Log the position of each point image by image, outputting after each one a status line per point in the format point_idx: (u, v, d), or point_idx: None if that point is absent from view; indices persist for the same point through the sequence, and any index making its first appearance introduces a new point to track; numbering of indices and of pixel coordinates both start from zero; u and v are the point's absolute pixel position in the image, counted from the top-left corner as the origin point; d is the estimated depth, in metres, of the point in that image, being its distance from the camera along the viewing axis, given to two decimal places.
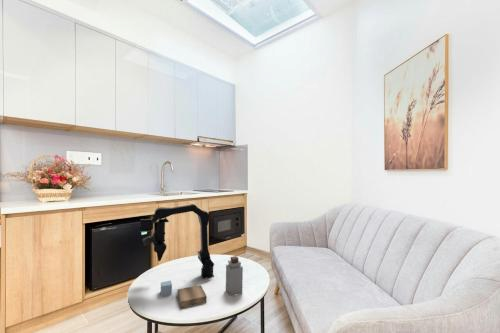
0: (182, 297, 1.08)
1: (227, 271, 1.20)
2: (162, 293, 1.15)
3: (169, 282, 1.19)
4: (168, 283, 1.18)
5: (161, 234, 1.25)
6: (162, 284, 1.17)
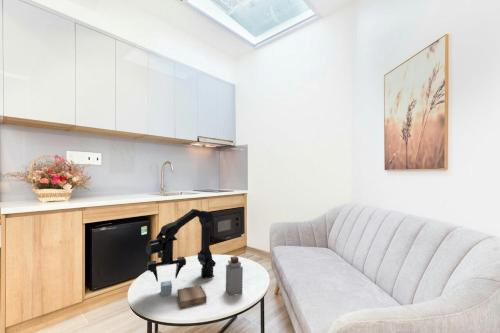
0: (182, 297, 1.08)
1: (227, 271, 1.20)
2: (162, 293, 1.15)
3: (169, 282, 1.19)
4: (168, 283, 1.18)
5: (162, 254, 1.17)
6: (162, 284, 1.17)
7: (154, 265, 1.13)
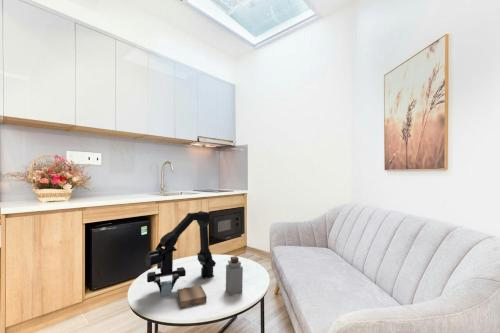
0: (182, 297, 1.08)
1: (227, 271, 1.20)
2: (162, 293, 1.15)
3: (169, 282, 1.19)
4: (168, 283, 1.18)
5: (161, 265, 1.16)
6: (162, 284, 1.17)
7: (154, 276, 1.13)
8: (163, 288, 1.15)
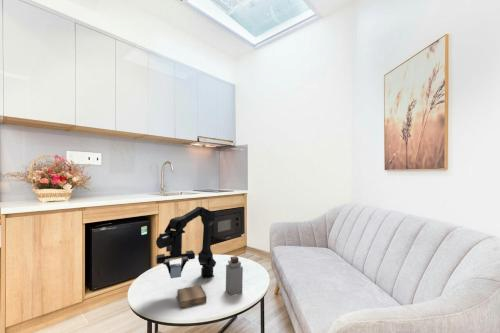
0: (182, 297, 1.08)
1: (227, 271, 1.20)
2: (171, 275, 1.13)
3: (178, 265, 1.18)
4: (178, 266, 1.16)
5: (170, 247, 1.15)
6: (171, 266, 1.15)
7: (163, 258, 1.12)
8: (172, 270, 1.14)
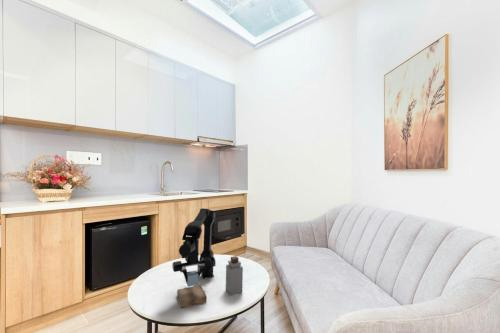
0: (182, 297, 1.08)
1: (227, 271, 1.20)
2: (188, 283, 1.10)
3: (195, 272, 1.14)
4: (194, 273, 1.13)
5: None
6: (188, 274, 1.12)
7: (180, 266, 1.08)
8: (189, 278, 1.10)
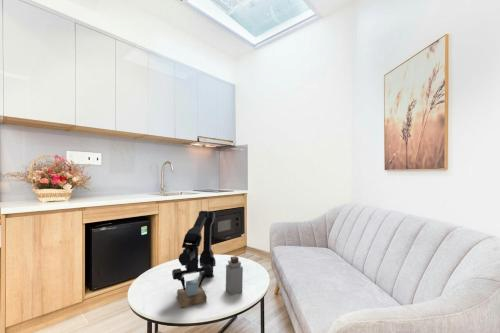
0: (182, 297, 1.08)
1: (227, 271, 1.20)
2: (188, 293, 1.10)
3: (195, 281, 1.14)
4: (194, 283, 1.12)
5: None
6: (188, 283, 1.12)
7: (180, 273, 1.08)
8: (189, 288, 1.10)
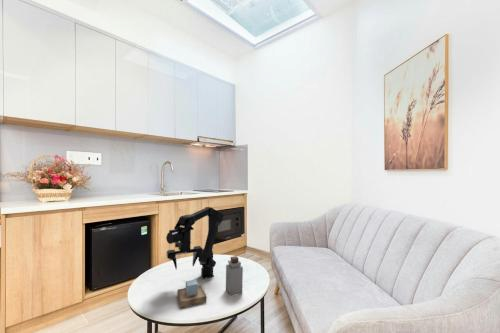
0: (182, 297, 1.08)
1: (227, 271, 1.20)
2: (188, 293, 1.10)
3: (195, 281, 1.14)
4: (194, 283, 1.12)
5: (180, 243, 1.22)
6: (188, 283, 1.12)
7: (174, 253, 1.19)
8: (189, 288, 1.10)
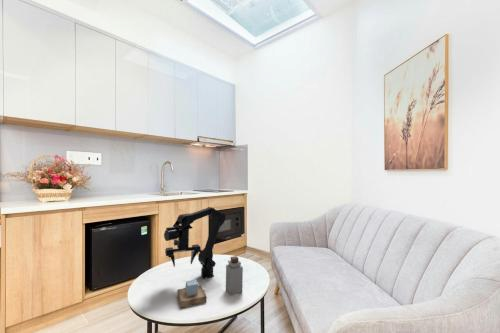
0: (182, 297, 1.08)
1: (227, 271, 1.20)
2: (188, 293, 1.10)
3: (195, 281, 1.14)
4: (194, 283, 1.12)
5: (178, 241, 1.25)
6: (188, 283, 1.12)
7: (172, 251, 1.22)
8: (189, 288, 1.10)
